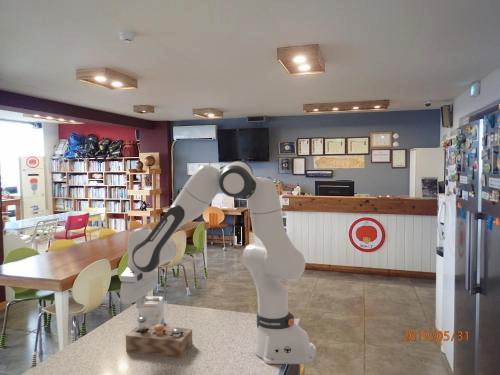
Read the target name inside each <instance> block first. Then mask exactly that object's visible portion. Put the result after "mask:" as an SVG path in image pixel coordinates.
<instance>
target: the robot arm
mask: <svg viewBox="0 0 500 375" xmlns="http://www.w3.org/2000/svg"><path fill="white" fill-rule="evenodd" d="M276 186H277V185H276V183H275V182H274V181H273V180H272V179H271V178H268V177H256V176H254V173H253V169H252V166H250V165H249V163H247V162H245V161H243V160H234V161H233V160H232V161H230V162H229V163H227V164H225V165H223V166H221V167H220V168H219V169H218V168H216V167H215V166H213V165H209V164H203V165H200V166H199V167H198V168H197V169H196V170H195V172H193V174H192V175H191V176H190V178H189V179H188V180H187V181H186V183H185V184H184V186H183V187H182V189H181V190H180V191H179V193H178V195H177V196H176V198H175V199H174V201H173V202H172V204H171V205H170V207H168V209H167V211H166V212H165V214H163V215H162V217H161V218H160V219H159V221H158V222H157V224H156V225H155V227H154V228H153V229H151V228H150V227H147V226H146V227H141V228H136V229H132V230H131V231H130V232H129V233H128V236H127V248H126V249H127V255H128V260H127V266H126V268H125V270H124V271H123V272H122V274H120V276H119V281H120V282H121V284H120V301H121V303H122V304H124V305H131V304H133V303H134V302H135V304H136V305H135V306H136V309H140V308H142V307H143V306H145V299H146V297H147V294H149V293H150V292H151V291H154V290H155V289H156V288H157V286H158V278H157V271H156V269H157V268H158V267H161V266H163V265H165V264H167V263H168V262H170V261H172V260H173V259H174V258H175V256H176V254H177V247H176V246H177V245H176V243H175V241H174V240H173V239H171V238H172V236H173V235H174V233H175V232H176V231H178V230H179V229H180V228H181V227H183V226H184V225H185V224H187V223H189V222H191V221H193V220H196V219H198V218H199V217H200V216H202V214H203V213H204V212H205V211H206V210H208V207H210V205H211V203H212V202H213V200H214V199H215V197H216V196H217V195H218V194H219V193H220V192H222V194H224V195H226V196H228V197H231V198H236V199H243V200H247V202H248V208H249V209H248V210H249V216H250V221H251V228H252V233H253V234H254V236H255V237H256V238H257V239H259V240H260V242H253V243H250V244H247V245H246V246H245V248H244V249H243V252H242V260H241V261H242V263H243V265H244V267H246V268H245V269H247V271H248V272H249V273H250V275H251V277H252V280H253V283H254V285H255V288H256V293H257V294H256V295H257V312H256V327H257V330H256V331H257V332H256V333H257V334H256V340H255V344H254V348H253V353H254V354H255V355H256V356H257V357H259V358H261V359H262V360H263V361H264V362H265V363H266V364H269V365H270V364H271V365H310V364H312V363H313V362H314V361H315V359H316V357H317V347H316V346H315V344H313V342H310V337H309V335H308V334H309V333H308V332H307V331H305V329H303V328H301V327H300V326H299V325H298V324H296V323H295V315H294V312H292V313H291V312H289V292H288V290H287V288H286V287H285V285H284V284H282V282H281V281H280V279H282V280H297V279H299V278H300V277H301V276H302V275H303V274H304V273H305V269H306V259H305V257H304V254H303V253H302V252H301V251H299V250H298V249H297V247H296V246H295V245H294V244H293V243H292V241H291V239H290V237H289V235H288V234H287V231H286V229H285V226H284V219H283V213H282V206H281V201H280V196H279V192H278V188H277V187H276Z"/></svg>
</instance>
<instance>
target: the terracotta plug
mask: <svg viewBox="0 0 500 375" xmlns="http://www.w3.org/2000/svg"><path fill="white" fill-rule="evenodd" d="M164 326H165V324H157V325H155V326H154V329H155V330H156V335H162V334H163V329H164Z"/></svg>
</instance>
